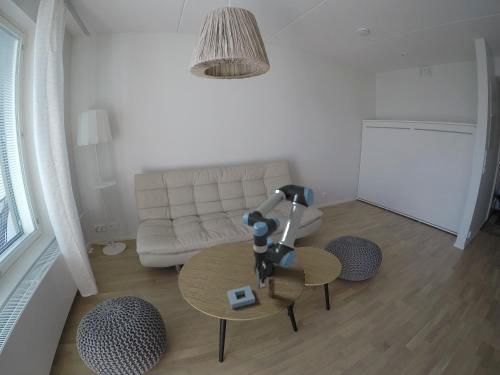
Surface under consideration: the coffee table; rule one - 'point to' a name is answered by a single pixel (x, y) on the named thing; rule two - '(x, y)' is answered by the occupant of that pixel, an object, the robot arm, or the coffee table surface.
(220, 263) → the coffee table surface
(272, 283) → the walnut dowel
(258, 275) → the square bit
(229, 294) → the bore block
